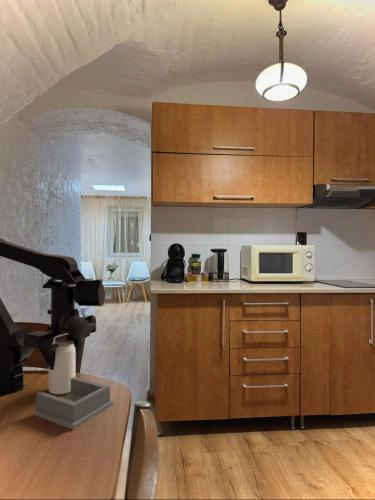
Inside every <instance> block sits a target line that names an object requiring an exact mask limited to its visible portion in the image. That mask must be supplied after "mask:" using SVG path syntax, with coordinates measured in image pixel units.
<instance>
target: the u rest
mask: <svg viewBox="0 0 375 500" xmlns="http://www.w3.org/2000/svg"><path fill="white" fill-rule="evenodd" d="M35 401H36V403H35V404H36V406H35V408H36V409H35V410H33V416H35V417H38V418H40V419H43V420H46V421H48V422H52V423H54V424H56V425H60V426H62V427H64V428H68V429H70V430H73V431H74V430H76V429H77V428H79V427H80V426H82V425H84V424H85V423H87V422H88V421H90V420H92V419H93V418H95V417H96V416H98V415H100V414H102V412H105V411H107V409H109V408H111V407H112V406H114V400H111V386H109V385H106V384H102V383H99V382H94V381H91V380H86V379H83V378H80V377H76V376H75V377H73V378H71V392H69V393H66V394H64V395H63V396H61V397H60V396H58V395H57V396H56V395H55V394H52V393H48V392H44V391H39V392H36V400H35Z"/></svg>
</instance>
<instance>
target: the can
mask: <svg viewBox="0 0 375 500" xmlns="http://www.w3.org/2000/svg"><path fill="white" fill-rule="evenodd" d="M73 343H74V342H73V341H71V340H67V339H63V340H62V339H61V340H55V344H58V345H59V346H58V347H57V349H56V351H55V364H54V370H50V368H49V367H48V391H49V394H51V395H54V396H56V395H57V396H58V395H60V396H61V395H67V394H69V393H71V378H73V377H76V368H77V367H76V365H77V364H76V358H77V356H76V351H75V346H74V344H73Z"/></svg>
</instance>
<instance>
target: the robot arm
mask: <svg viewBox="0 0 375 500" xmlns="http://www.w3.org/2000/svg"><path fill="white" fill-rule="evenodd" d="M0 257H1V258H4V259H8V260H10V261H11V260H12V261H14V262H16V263H19V264H22V265H23V264H24V265H26V266H29V267H31V268H35V269H37V270H39V271H40V272H41V273H42V274H43V275H45V276H47V277H48V280H47V282H45V283H44V284H42V287H41V288H42V289H50V309H46V311H47V315H50V325H47V327H46V329H47V331H48V332H47V331H42V330H35V331H33V332H30V330H29V327H27V326H24V327H22V328H21V327H19V326H18V325H16V323H15V321H14V320H13V318H12V316H11V314H10V312H9V311H8V309H7V307H6V306H5V304H4V302H3V300H2V298H1V297H0V395H1V396H0V397H2V396H4V395H7V394H15V393H17V392H19V391H22V390H23V389H24V388H25V387H27V385H26V384H24V366H23V364H24V363H26V362H27V361H28V359H29V356H31V355H32V354H33V352H34V349H35V350H36V349H37V350H39V351H40V353H41V355H42V356H43V358H44V360H45V362H46V364H47V366H48V369H49V368H50V370H54V364H55V351H56V349H57V347H58V346H59V345H58V344H55V341H56V339H60V338H62V337H65V338H66V340H71V341H73V342H74V343H73V344H74V346H75V351H76V357H77V356H78V353H79V350H80V347H81V345H82V343H83V341H85V340H86V338H88V337H90V336H91V334H92V333H97V318H96V317H97V316H95V315H93V314H90V315H87V316H80V311H79V309H78V308H75V307H76V306H75V305H76V304H77V305H78V306H80V307H103V306H104V304H105V300H106V290H105V286H104V284H103V279H100V278H98V279H87V278H86V277H85V276H84V274H83V273H82V272H81V269H79V266H78V265H79V264H78V262H77V260H76V259H75V258H74V257H72V256H67V255H59V254H49V253H44V252H40V251H38V250H34V249H33V248H28V247H25V246H22V245H19V244H16V243H12V242H9V241H6V240H5V239H4V238H0Z"/></svg>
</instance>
